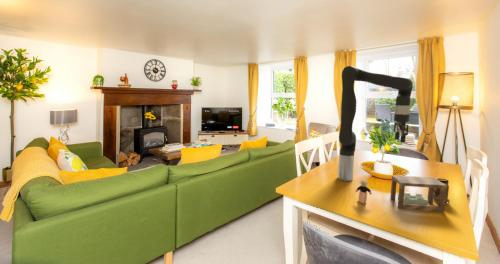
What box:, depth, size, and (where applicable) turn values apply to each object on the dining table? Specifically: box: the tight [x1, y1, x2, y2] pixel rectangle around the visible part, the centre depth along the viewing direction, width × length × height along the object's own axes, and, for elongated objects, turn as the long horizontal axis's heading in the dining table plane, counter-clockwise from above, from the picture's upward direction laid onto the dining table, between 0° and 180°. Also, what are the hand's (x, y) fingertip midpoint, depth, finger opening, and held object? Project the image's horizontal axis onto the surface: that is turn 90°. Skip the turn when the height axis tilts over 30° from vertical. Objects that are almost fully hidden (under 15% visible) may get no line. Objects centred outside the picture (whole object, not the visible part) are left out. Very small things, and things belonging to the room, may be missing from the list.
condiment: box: [433, 177, 451, 205], centre depth 132 cm, size 7×8×12 cm
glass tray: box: [397, 191, 429, 205], centre depth 131 cm, size 12×6×5 cm, turn 79°
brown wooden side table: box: [389, 175, 447, 213], centre depth 127 cm, size 20×12×14 cm, turn 79°
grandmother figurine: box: [355, 179, 372, 205], centre depth 130 cm, size 8×4×13 cm, turn 66°
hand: (399, 141), depth 144 cm, fingers open, 8 cm apart
